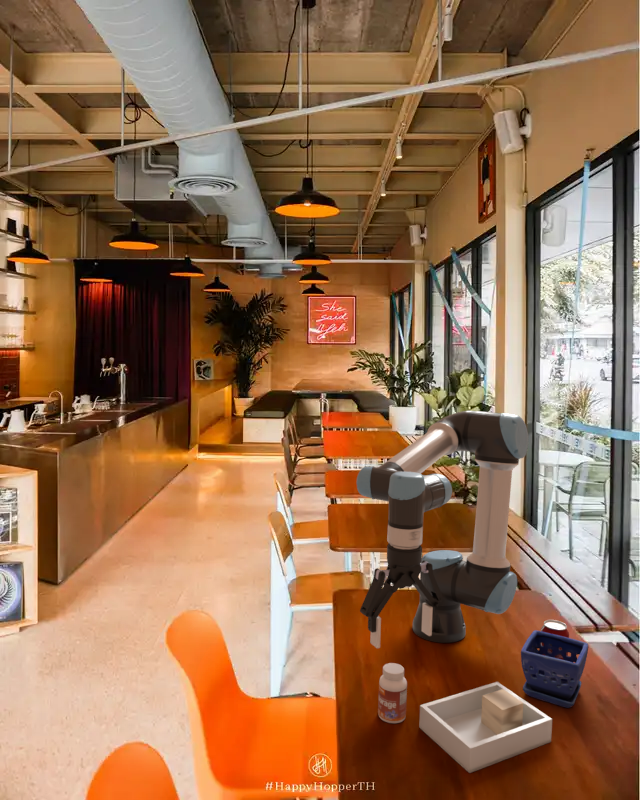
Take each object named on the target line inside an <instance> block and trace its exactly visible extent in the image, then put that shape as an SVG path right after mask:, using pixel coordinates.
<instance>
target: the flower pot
mask: <svg viewBox="0 0 640 800" xmlns="http://www.w3.org/2000/svg"><path fill="white" fill-rule="evenodd" d="M541 643H544V646H542V645H541ZM559 648H562V650H559ZM548 649H551V650H552V653H550V652H548ZM588 651H589V644H588V643H587V642H585V641H582V640H578V639H575V638H571V637H569V638H567V637H563V636H559V635H555V634H550V633H546V632H542V631H541V630H537V629H535V630H533V631H532V632H531V634H530V635H529V637H528V638H527V639H526V640H525V643H524V644H523V646H522V647H521V650H520V660H521V661H520V663H521V668H522V672H523V675H524V678H525V680H526V681H525V682H524V684H523V686H522V690H523V692H524V693H525V694H526V695H527V696H528V697H531V698H535V699H537V700H541V701H543V702H547V703H549V704H550V703H551V704H554V705H556V706H559V707H563V708H567V709H569V708H572V707H573V706H574V705H575V703H576V700H577V698H578V695H579V692H580V690H581V687H582V683H583V682H582V681H581V678H582V676H583V672H584V670H585V667H586V662H587V658H588ZM567 652H568V654H570V656H569V655H568V656H567V655H566V653H567ZM543 654H545V655H546V656H544V655H543ZM559 654H560V655H562V657H563V659H564V660H562V659H557V658H555V656H556V655H559ZM577 656H578V657H577Z"/></svg>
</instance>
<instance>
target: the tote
mask: <svg viewBox="0 0 640 800" xmlns="http://www.w3.org/2000/svg"><path fill="white" fill-rule="evenodd" d="M501 689H504V690H505V691H507V692H508V693H510V694H511V695H512V696H514V697H515V698H517V699H518V700H520V701H521V702H523V721H522V726H520V727H518V728H515V729H512V730H509V731H506V732H504V733H501V734H498V735H497V734H496V733H495V732H493V731H492V730H491V729H490V728H488V727H487V726H486V725H484V724H483V723H482V722H481V713H482V696H483V695H486V694H489V693H492V692H495V691H498V690H501ZM418 726H419V727H418V728H420V730H421V731H422V732H424V733H425V734H426V735H427V736H428V737H429V738H430V739H431V740H432V741H433V742H434V743H436V744H437V745H438V746H439V747H440V748H441V749H442V750H443V751H444V752H445V753H447V754H448V755H449V756H450V757H451V758H452V759H453V760H454V761H455V762H456V763H457V764H459V765H460V766H461V767H462V768H463V769H464V770H465V771H466V772H468V773H469V774H471V773H473V772H476V771H480V770H482V769H485V768H487V767H489V766H492V765H495V764H498V763H500V762H502V761H505V760H508V759H510V758H513V757H515V756H518V755H520V754H524V753H526V752H528V751H531V750H533V749H536V748H538V747H542V746H544V745H547V744H549V743H551V742H552V734H553V733H552V731H553V718H551V717H550V716H548V714H546V713H544V712H543V711H541V710H539V709H538V708H537V707H535V706H534V705H532V704H531V703H529V702H528V701H526V700H525V699H523V698H522V697H521V696H519V695H517V694H516V693H515V692H513V691H512V690H510V689H509V688H507V687H506V686H504V685H503V684H501V683H500V682H499V681H495V682H492V683H489V684H488V683H487V684H485V685H481V686H479V687H476V688H475V687H474V688H473V689H469V690H465V691H462V692H459V693H456V694H452V695H449V696H446V697H443V698H440V699H436V700H433V701H429V702H426V703H423V704H420V705H419V725H418Z"/></svg>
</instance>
